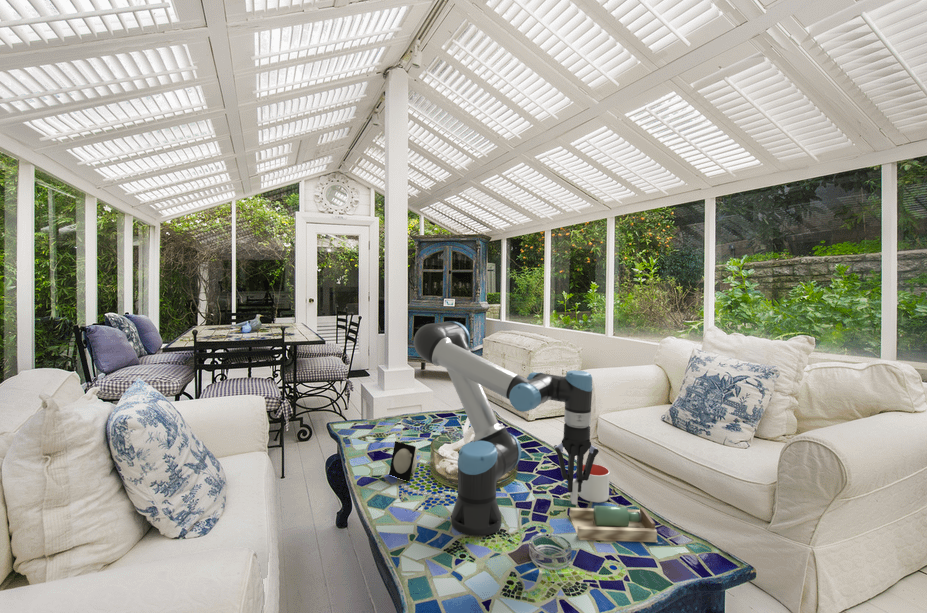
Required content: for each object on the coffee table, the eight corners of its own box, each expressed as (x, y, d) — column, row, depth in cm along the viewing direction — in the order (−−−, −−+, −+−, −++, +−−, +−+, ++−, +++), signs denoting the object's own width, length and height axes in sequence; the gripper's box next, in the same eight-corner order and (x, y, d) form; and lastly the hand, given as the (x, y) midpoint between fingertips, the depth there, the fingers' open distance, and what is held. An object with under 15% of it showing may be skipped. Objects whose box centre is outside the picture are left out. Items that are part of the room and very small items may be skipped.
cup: (610, 507, 147) (611, 477, 146) (578, 503, 149) (579, 474, 148) (606, 493, 157) (607, 465, 156) (577, 489, 159) (578, 462, 158)
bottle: (596, 504, 133) (641, 506, 132) (592, 506, 138) (635, 507, 137) (598, 525, 131) (644, 527, 130) (594, 525, 135) (638, 527, 135)
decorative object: (401, 474, 174) (421, 481, 168) (383, 476, 165) (404, 483, 160) (407, 440, 176) (427, 446, 171) (390, 441, 167) (411, 446, 162)
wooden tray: (579, 543, 126) (579, 525, 126) (568, 517, 140) (569, 501, 140) (658, 545, 126) (658, 528, 125) (639, 519, 140) (640, 503, 139)
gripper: (557, 427, 128) (553, 507, 129) (603, 429, 128) (599, 509, 129) (552, 419, 135) (549, 495, 137) (596, 420, 135) (592, 496, 137)
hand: (573, 501), depth 133 cm, fingers closed
